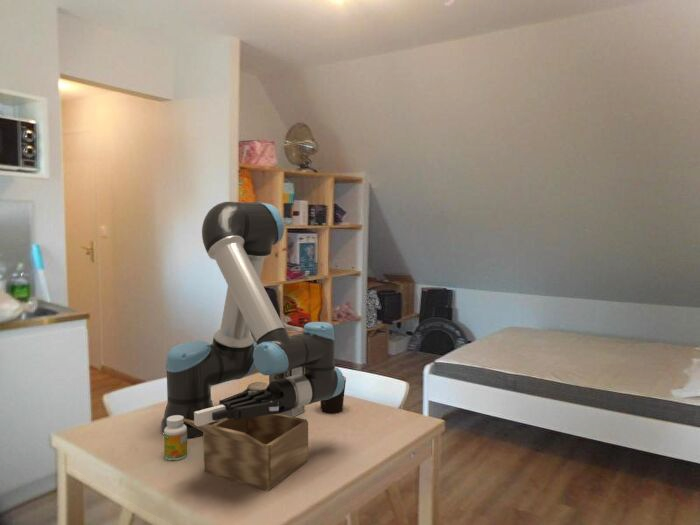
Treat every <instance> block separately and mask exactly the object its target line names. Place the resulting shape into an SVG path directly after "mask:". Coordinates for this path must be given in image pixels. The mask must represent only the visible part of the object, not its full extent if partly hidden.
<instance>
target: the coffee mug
mask: <svg viewBox="0 0 700 525" xmlns="http://www.w3.org/2000/svg"><path fill="white" fill-rule="evenodd" d="M342 377H343V379H344V388H343V391H342V392H341V393H340V394H339V395H337V396H335V397H332V398H330V399H328V400H322V401H320V408H321V412H322V413H324V414H327V415H328V414H329V415H334V414H336V413H337V414H339V412H340V413H342V412H343V407H344V399H345V392H346V391H345V390H346V382H347V378H346V376H345V375H344V374H343V375H342ZM341 411H342V412H341Z"/></svg>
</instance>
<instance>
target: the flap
mask: <svg viewBox="0 0 700 525" xmlns="http://www.w3.org/2000/svg"><path fill="white" fill-rule="evenodd" d="M182 421H184V422H186V423H188V424H190V425H192V426H193V427H195V428H197V429H199V430H201V431H203V432H206V433H210V434H214V435H218V436H222V437H226V438H230V439H234V440H238V441H242V442H246V443H250V444H254V445H258V446H262V447H264V445H265V444H263V443H261V442H260V441H258V440H256V439H255V438H253V437H251V436H250V435H248V434H246V433H243V432H239V431H235V430H231V429H227V428H222V427H218V426H214V425H210V424H205V425H201V426H196V425H194V421H193V420H189V419H184V418H183V420H182Z"/></svg>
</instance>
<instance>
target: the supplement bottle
mask: <svg viewBox="0 0 700 525" xmlns="http://www.w3.org/2000/svg"><path fill="white" fill-rule="evenodd" d="M183 418H184V417H183V416H181V415H174V416H170V417H168V418H167V425H168V426H167V427H166V428H165V429H164V434H163V438H164V439H163V441H164V444H163V448H164V449H163V450H164V451H163V452H164V459H165V460H167V459H168V460H167V461H171V460H175V461H180V460H182V459H185V458H187V455H188V438H187V427H186V425H184V424H183V423H184V421H182V420H183Z"/></svg>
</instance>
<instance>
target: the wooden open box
mask: <svg viewBox="0 0 700 525" xmlns="http://www.w3.org/2000/svg"><path fill="white" fill-rule="evenodd" d="M212 425H214V426H218V427H222V428H227V429H231V430H235V431H239V432H243V433H246V434H248V435H250V436H251V437H253V438H255V439H256V440H258V441H260V442H261V443H263V444H265V445H264V447H262V446H258V445H254V444H250V443H246V442H242V441H238V440H234V439H230V438H226V437H222V436H218V435H214V434H210V433H206V432H203V435H202V436H203V464H204V465H203V466H204V468H203V469H204V473H206V474H209V475H212V476H216V477H219V478H224V479H227V480H230V481H234V482H237V483H240V484H243V485H247V486H251V487H254V488H256V489H261V490H264V491H268V492H269V491H270V490H271V489H272V488H274V487H275V486H276V485H278V484H280V482H281V481H283V480H284V479H286V478H288V476H290V475H291V474H292V473H293V472H295V471H296V470H297V469H299V468H300V467H301V466H302V465H304V464H306V463H307V462H308V455H309V421H308V420H307V419H305V418H299V417H296V416H294V417H292V416H287V415H282V414H270V415H263V416H258V417H253V418H248V419H242V420H237V421H235V420H234V418H231V419H227V418H226V419H222V420H219V421H218V422H216V423H214V424H212Z"/></svg>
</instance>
